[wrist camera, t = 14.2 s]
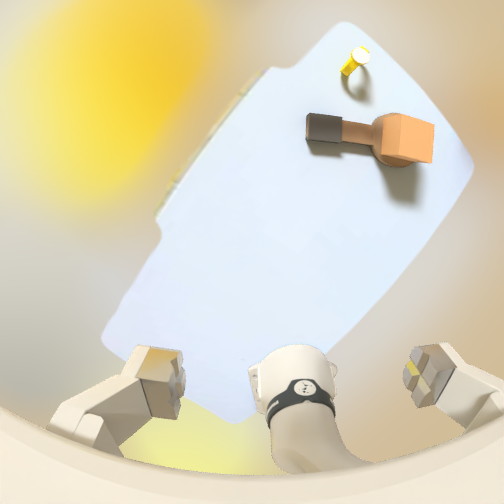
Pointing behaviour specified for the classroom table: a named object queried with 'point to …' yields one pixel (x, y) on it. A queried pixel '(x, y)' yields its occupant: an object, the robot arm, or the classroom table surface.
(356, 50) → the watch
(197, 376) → the classroom table surface
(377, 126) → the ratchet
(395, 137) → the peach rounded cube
